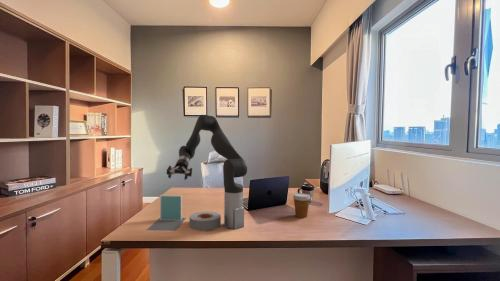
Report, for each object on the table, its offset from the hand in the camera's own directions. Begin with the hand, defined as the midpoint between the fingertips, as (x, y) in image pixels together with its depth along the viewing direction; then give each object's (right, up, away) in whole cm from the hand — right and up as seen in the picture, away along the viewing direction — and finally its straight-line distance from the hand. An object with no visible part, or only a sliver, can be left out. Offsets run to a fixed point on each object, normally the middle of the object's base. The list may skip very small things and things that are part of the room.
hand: (177, 177), depth 146 cm
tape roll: (+19, -22, -17) cm, 33 cm away
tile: (0, -21, -10) cm, 23 cm away
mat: (0, -21, -16) cm, 26 cm away
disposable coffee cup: (+70, -22, -1) cm, 73 cm away
